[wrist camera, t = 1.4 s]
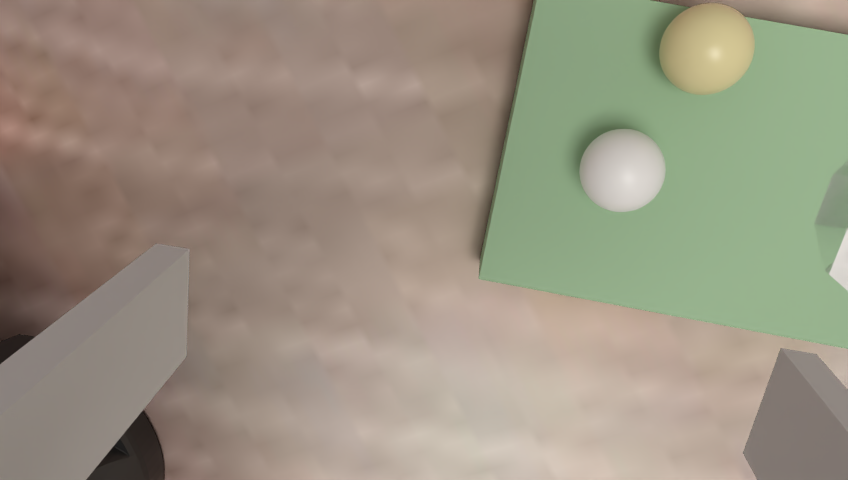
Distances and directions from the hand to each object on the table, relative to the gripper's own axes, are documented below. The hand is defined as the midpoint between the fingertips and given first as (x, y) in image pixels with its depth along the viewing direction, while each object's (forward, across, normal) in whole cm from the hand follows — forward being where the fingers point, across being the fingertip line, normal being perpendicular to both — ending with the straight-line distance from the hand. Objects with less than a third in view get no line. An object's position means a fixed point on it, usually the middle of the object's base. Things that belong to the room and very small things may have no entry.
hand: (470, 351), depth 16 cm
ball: (+16, +6, +1) cm, 18 cm away
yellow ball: (+16, +8, +6) cm, 19 cm away
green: (+21, +14, +1) cm, 25 cm away
